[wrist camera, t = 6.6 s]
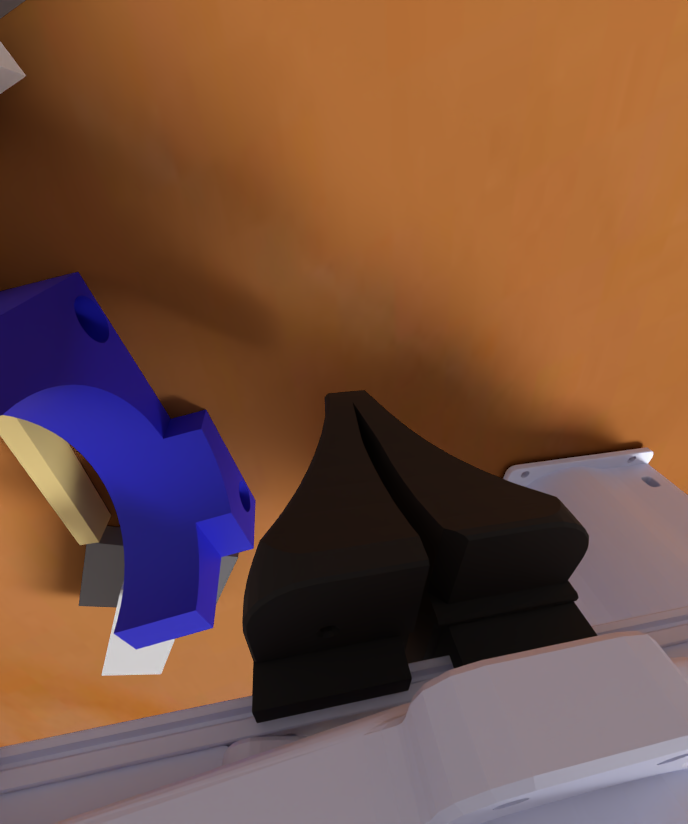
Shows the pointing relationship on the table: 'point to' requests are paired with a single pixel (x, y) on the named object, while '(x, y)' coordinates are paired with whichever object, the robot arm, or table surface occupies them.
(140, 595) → the blue piece
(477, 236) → the table surface
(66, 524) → the shaft rig
